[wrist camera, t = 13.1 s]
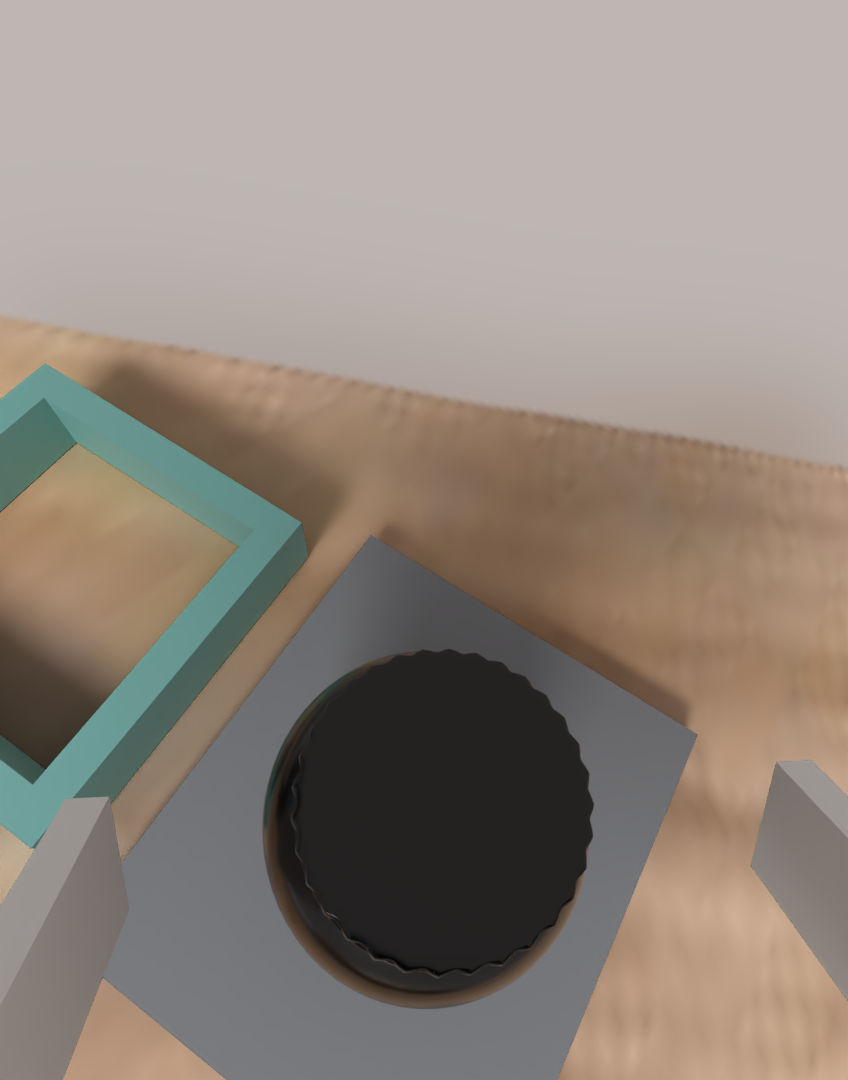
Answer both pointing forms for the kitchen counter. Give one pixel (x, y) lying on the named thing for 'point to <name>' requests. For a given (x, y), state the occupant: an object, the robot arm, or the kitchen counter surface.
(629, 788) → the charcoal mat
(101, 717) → the teal collar
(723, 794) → the kitchen counter surface
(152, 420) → the kitchen counter surface
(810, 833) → the robot arm
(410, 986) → the supplement bottle
